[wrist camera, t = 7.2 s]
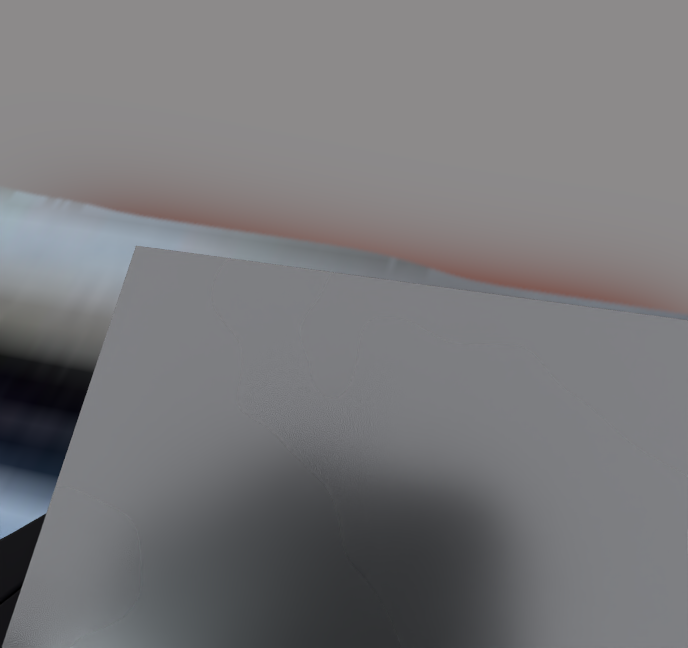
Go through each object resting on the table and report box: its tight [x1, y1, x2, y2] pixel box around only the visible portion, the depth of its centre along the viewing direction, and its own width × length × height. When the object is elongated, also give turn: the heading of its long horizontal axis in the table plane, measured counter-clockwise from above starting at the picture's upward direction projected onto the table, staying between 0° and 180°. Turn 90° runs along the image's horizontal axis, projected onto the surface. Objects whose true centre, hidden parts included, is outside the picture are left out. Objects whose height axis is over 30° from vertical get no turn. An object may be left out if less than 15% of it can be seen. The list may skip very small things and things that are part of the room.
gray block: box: [2, 246, 688, 648], centre depth 8 cm, size 4×4×12 cm
